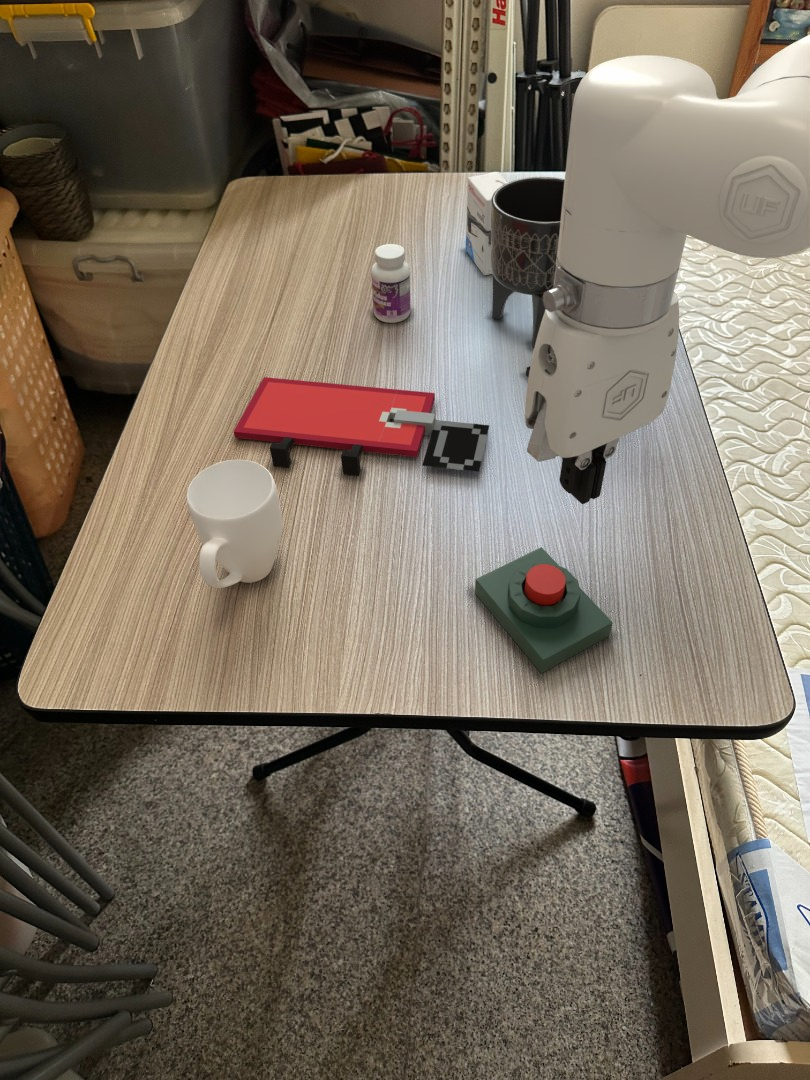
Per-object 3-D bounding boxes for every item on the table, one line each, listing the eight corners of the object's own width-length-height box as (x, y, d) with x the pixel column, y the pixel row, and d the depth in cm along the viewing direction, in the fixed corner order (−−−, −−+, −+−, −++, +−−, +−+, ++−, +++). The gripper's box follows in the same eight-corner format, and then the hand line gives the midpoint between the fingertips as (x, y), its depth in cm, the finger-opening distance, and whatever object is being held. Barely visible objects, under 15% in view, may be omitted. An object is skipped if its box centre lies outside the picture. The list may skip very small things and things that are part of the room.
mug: (228, 532, 85) (204, 453, 76) (301, 542, 83) (286, 463, 75) (185, 621, 77) (153, 544, 68) (265, 634, 75) (243, 557, 67)
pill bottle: (366, 318, 112) (362, 255, 104) (384, 300, 115) (381, 237, 108) (400, 327, 110) (397, 264, 103) (417, 309, 113) (416, 245, 106)
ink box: (463, 250, 124) (465, 175, 115) (493, 245, 125) (497, 169, 116) (483, 276, 118) (487, 199, 110) (513, 270, 119) (520, 193, 110)
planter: (538, 290, 115) (551, 167, 102) (597, 331, 108) (620, 203, 95) (466, 318, 111) (470, 193, 98) (523, 362, 103) (536, 234, 90)
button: (571, 595, 73) (573, 584, 72) (540, 612, 72) (542, 600, 70) (547, 570, 75) (549, 558, 74) (517, 585, 74) (518, 573, 72)
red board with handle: (476, 489, 87) (494, 407, 97) (477, 470, 85) (495, 389, 95) (224, 460, 92) (265, 386, 102) (219, 442, 90) (262, 367, 100)
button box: (609, 636, 74) (616, 610, 71) (541, 673, 72) (545, 649, 69) (539, 560, 81) (543, 534, 78) (474, 592, 78) (475, 567, 75)
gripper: (555, 349, 45) (532, 557, 59) (743, 274, 50) (681, 482, 64) (483, 293, 50) (476, 498, 63) (661, 229, 55) (619, 433, 68)
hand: (579, 490), depth 64 cm, fingers closed
